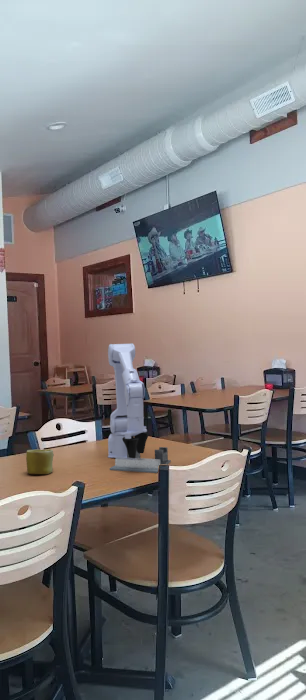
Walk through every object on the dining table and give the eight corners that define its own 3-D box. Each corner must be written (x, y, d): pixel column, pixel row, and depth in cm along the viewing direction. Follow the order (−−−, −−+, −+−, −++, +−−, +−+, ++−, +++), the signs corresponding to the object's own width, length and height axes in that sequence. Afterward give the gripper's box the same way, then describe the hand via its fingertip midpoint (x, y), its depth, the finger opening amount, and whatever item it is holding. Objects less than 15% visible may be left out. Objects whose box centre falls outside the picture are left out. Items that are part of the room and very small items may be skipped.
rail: (118, 465, 205) (115, 467, 202) (118, 457, 205) (115, 458, 202) (160, 467, 200) (157, 469, 197) (160, 459, 199) (157, 461, 197)
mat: (109, 469, 201) (109, 468, 201) (118, 465, 208) (118, 463, 208) (157, 473, 195) (157, 471, 195) (164, 468, 201) (164, 466, 201)
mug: (41, 473, 192) (38, 443, 195) (21, 479, 197) (18, 450, 200) (67, 472, 201) (63, 444, 204) (46, 478, 207) (43, 451, 210)
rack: (124, 463, 211) (124, 448, 210) (131, 459, 216) (130, 445, 216) (165, 465, 205) (164, 450, 205) (170, 462, 210) (170, 447, 210)
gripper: (137, 420, 192) (139, 460, 193) (153, 414, 206) (154, 451, 206) (118, 420, 195) (120, 459, 195) (135, 413, 208) (136, 450, 209)
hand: (136, 455), depth 201 cm, fingers open, 7 cm apart
